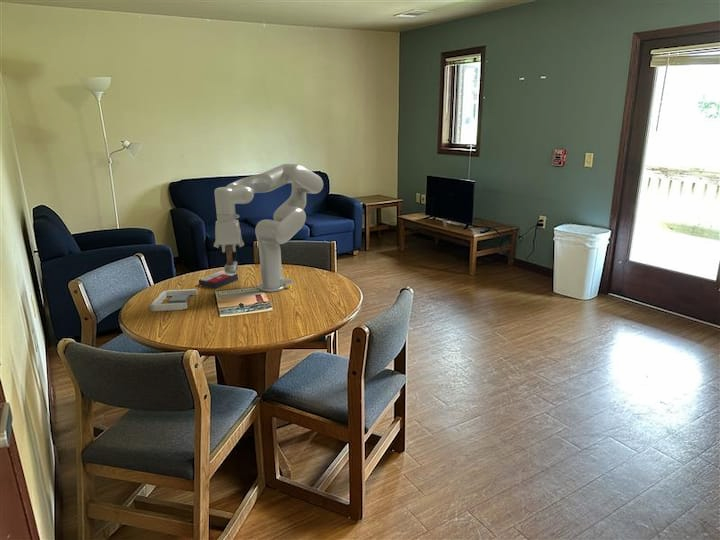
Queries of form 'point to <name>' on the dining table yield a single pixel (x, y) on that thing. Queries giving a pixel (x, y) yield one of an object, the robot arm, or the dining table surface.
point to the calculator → (218, 279)
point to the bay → (171, 306)
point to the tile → (179, 299)
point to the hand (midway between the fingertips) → (230, 260)
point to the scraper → (230, 261)
